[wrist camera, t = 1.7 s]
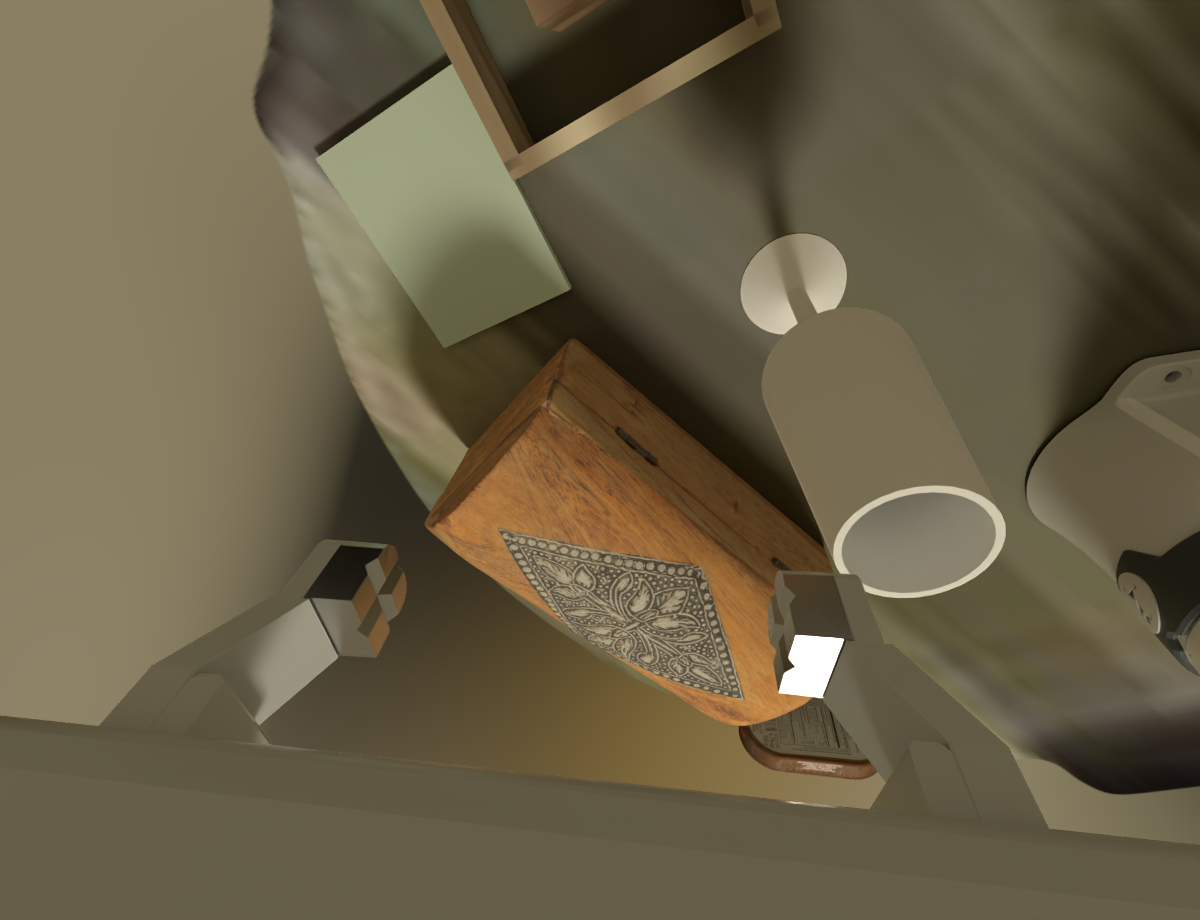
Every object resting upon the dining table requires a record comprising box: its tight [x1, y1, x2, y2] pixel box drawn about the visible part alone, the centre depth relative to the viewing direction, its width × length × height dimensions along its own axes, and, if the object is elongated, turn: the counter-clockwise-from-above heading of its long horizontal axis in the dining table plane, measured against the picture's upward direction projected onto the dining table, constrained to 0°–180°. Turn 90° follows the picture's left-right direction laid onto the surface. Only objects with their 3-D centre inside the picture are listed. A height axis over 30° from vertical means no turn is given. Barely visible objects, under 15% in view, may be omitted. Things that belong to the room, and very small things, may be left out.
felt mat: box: [316, 64, 572, 348], centre depth 36 cm, size 11×14×1 cm
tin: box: [739, 697, 877, 780], centre depth 59 cm, size 15×3×8 cm, turn 94°
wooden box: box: [425, 337, 833, 726], centre depth 43 cm, size 30×16×14 cm, turn 48°
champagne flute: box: [740, 233, 1006, 598], centre depth 26 cm, size 7×7×24 cm
